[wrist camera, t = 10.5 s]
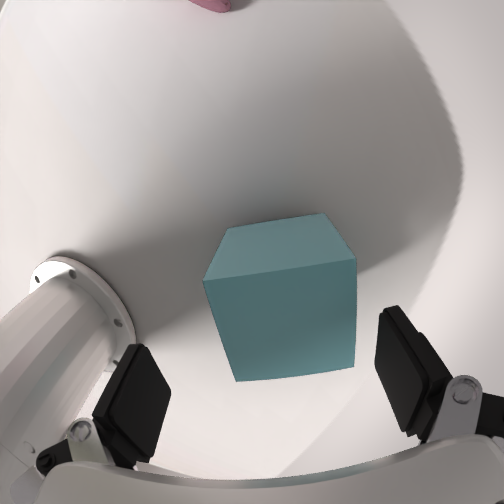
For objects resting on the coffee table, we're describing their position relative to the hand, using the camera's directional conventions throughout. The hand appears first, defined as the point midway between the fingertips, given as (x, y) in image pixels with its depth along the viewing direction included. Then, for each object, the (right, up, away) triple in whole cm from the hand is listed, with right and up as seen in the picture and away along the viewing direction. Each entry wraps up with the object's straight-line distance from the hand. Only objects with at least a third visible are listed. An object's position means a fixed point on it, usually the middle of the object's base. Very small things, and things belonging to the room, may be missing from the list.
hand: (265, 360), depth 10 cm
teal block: (+1, +3, +7) cm, 8 cm away
